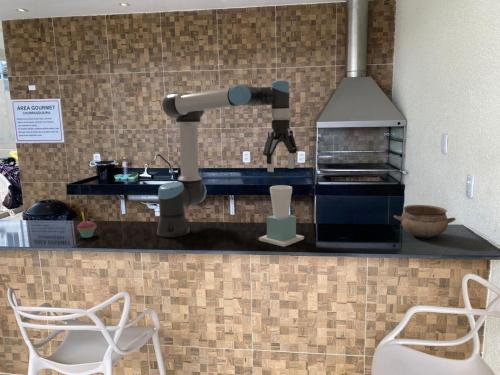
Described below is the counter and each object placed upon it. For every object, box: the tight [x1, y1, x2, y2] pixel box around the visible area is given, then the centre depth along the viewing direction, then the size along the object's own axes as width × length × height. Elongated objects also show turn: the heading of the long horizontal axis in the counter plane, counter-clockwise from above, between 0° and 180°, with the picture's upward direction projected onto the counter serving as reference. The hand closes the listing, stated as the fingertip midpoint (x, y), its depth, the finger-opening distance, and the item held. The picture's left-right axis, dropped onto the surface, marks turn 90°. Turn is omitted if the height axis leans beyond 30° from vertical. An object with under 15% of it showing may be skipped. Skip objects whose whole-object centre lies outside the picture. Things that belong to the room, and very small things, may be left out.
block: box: [266, 214, 297, 241], centre depth 176 cm, size 9×9×9 cm
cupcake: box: [76, 212, 98, 239], centre depth 187 cm, size 9×8×12 cm
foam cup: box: [269, 184, 293, 219], centre depth 174 cm, size 10×9×13 cm
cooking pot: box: [393, 204, 457, 240], centre depth 176 cm, size 25×19×12 cm
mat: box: [258, 234, 305, 248], centre depth 177 cm, size 14×14×1 cm
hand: (280, 170), depth 171 cm, fingers open, 13 cm apart
